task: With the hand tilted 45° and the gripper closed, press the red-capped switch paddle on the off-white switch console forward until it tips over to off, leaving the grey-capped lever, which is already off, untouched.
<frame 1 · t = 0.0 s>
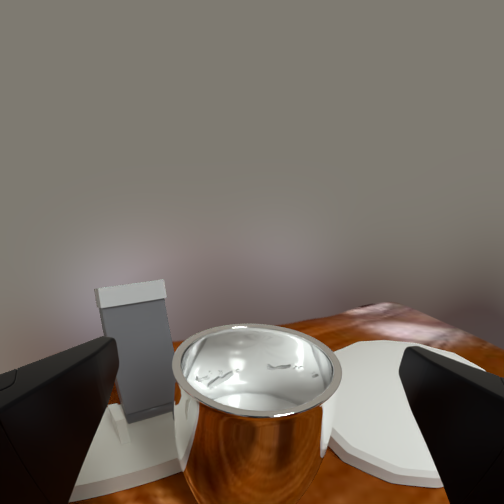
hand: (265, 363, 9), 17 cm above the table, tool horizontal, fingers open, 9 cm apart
grey lever: (140, 353, 22), point 9 cm above the table, hinge at 20.0°
switch console: (76, 462, 18), on the table
white flat disc: (411, 407, 29), on the table
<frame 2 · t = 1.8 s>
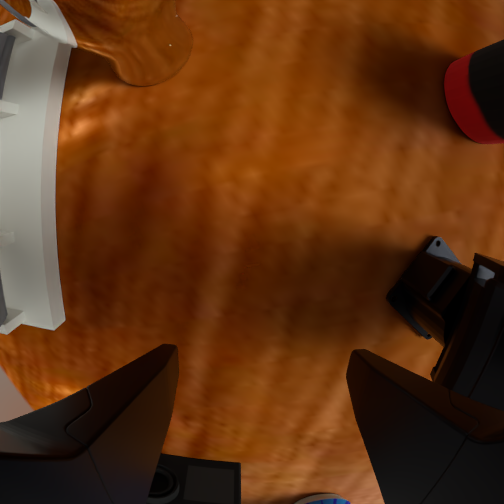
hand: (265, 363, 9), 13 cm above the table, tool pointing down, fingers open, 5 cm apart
soda can: (473, 101, 19), on the table
digital camera: (190, 464, 27), on the table
switch console: (19, 172, 19), on the table
beer glass: (151, 49, 18), on the table
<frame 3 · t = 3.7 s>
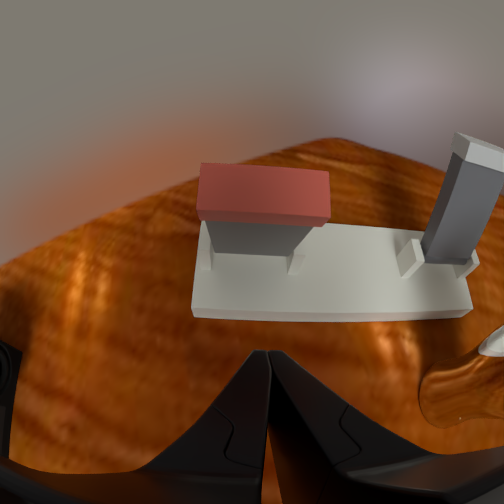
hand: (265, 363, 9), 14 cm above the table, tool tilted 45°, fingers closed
red-capped switch paddle: (256, 227, 17), point 9 cm above the table, hinge at -20.0°
digital camera: (2, 403, 18), on the table
grey lever: (464, 208, 20), point 9 cm above the table, hinge at 20.0°
switch console: (343, 276, 26), on the table
beer glass: (445, 394, 21), on the table
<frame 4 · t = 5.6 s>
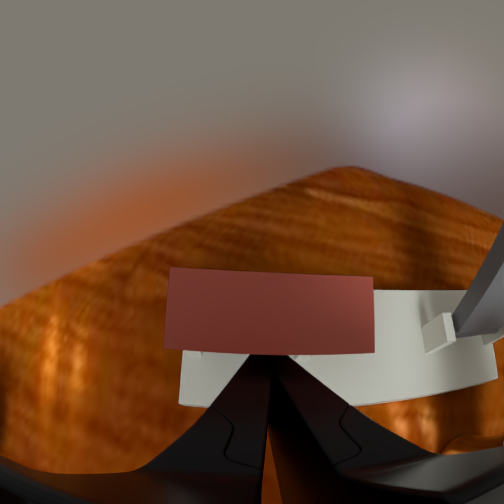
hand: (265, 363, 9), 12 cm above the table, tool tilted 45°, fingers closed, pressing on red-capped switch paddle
red-capped switch paddle: (257, 328, 13), point 9 cm above the table, hinge at -13.8°, touching gripper
switch console: (359, 351, 21), on the table
beer glass: (458, 469, 16), on the table
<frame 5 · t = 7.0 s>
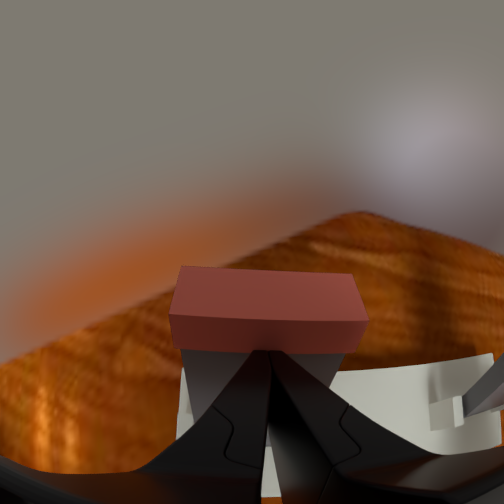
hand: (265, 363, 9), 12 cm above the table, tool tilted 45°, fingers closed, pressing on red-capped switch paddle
red-capped switch paddle: (255, 393, 12), point 8 cm above the table, hinge at 22.8°, touching gripper
switch console: (362, 429, 18), on the table
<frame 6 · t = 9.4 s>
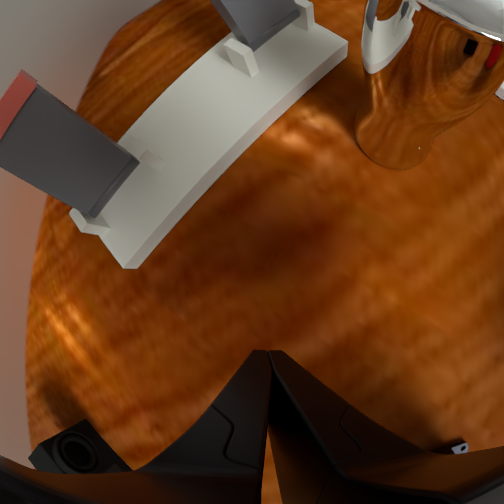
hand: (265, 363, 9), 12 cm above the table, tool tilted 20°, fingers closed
red-capped switch paddle: (58, 151, 16), point 8 cm above the table, hinge at 23.2°
digital camera: (115, 462, 24), on the table
switch console: (208, 122, 23), on the table
beer glass: (392, 133, 20), on the table
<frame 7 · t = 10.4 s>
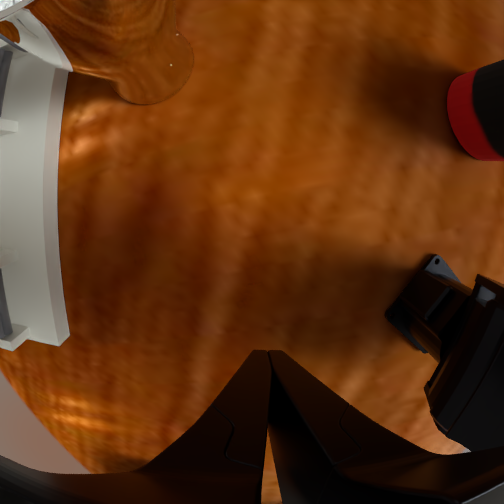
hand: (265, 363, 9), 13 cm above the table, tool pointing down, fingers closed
soda can: (475, 117, 20), on the table
switch console: (20, 189, 20), on the table
beer glass: (152, 66, 18), on the table
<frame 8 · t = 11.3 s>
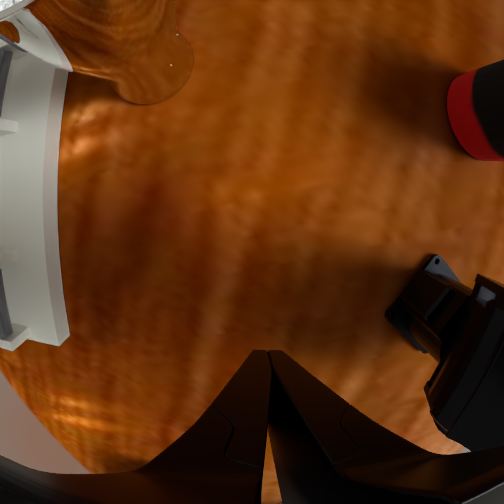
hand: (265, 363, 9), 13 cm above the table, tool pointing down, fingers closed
soda can: (475, 117, 20), on the table
switch console: (20, 189, 20), on the table
beer glass: (152, 66, 18), on the table
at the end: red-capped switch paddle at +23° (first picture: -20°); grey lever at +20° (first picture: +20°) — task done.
